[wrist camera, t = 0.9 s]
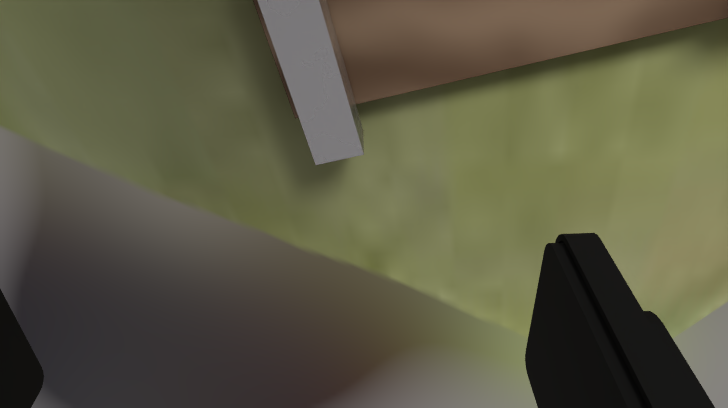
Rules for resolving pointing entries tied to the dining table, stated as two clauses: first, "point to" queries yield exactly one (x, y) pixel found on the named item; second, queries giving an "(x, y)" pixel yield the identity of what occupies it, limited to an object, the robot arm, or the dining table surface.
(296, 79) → the folding leg
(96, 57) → the dining table surface
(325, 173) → the dining table surface
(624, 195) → the dining table surface
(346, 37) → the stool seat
